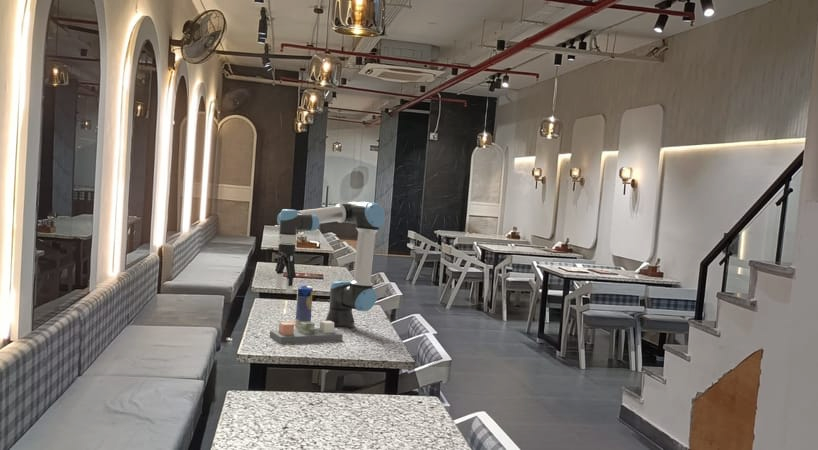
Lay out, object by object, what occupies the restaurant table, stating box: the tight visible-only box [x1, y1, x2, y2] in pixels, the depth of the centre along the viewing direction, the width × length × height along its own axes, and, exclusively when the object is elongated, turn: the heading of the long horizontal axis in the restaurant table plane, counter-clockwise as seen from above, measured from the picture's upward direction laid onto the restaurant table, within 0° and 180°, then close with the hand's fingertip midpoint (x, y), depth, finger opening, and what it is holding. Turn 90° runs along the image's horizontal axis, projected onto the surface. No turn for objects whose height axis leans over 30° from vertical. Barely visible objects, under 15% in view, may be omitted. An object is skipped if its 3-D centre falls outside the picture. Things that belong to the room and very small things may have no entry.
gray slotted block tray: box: [269, 327, 344, 345], centre depth 329 cm, size 30×14×4 cm, turn 121°
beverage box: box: [294, 285, 314, 329], centre depth 346 cm, size 7×11×22 cm, turn 10°
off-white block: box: [319, 320, 335, 333], centre depth 334 cm, size 5×5×5 cm
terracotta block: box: [278, 321, 295, 335], centre depth 324 cm, size 5×5×5 cm
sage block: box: [300, 321, 315, 334], centre depth 329 cm, size 5×5×5 cm
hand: (284, 290), depth 324 cm, fingers open, 13 cm apart
